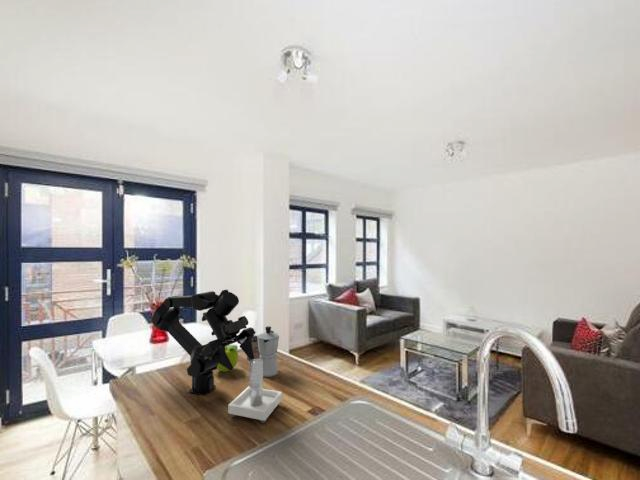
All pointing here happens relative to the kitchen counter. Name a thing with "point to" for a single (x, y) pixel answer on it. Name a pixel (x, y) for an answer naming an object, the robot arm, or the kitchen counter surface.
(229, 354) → the fruit
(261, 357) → the coffee maker
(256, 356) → the lighter
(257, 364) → the cylinder
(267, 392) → the white square tray
